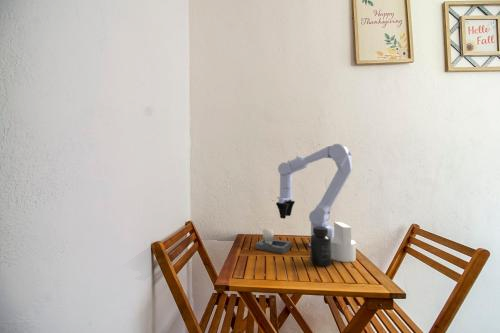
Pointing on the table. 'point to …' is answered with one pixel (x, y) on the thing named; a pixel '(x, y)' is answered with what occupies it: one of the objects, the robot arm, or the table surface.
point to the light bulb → (268, 235)
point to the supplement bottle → (320, 247)
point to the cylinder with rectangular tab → (343, 243)
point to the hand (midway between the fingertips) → (285, 217)
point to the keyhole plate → (274, 246)
